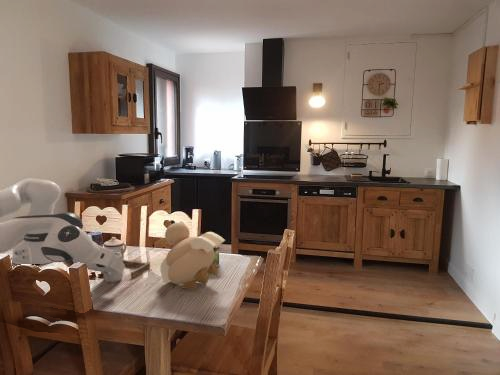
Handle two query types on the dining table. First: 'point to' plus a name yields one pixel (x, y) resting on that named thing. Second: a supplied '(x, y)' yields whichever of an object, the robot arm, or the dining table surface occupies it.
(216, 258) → the coffee can
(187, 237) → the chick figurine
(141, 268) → the frame
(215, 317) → the dining table surface
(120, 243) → the teacup with lid
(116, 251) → the can
